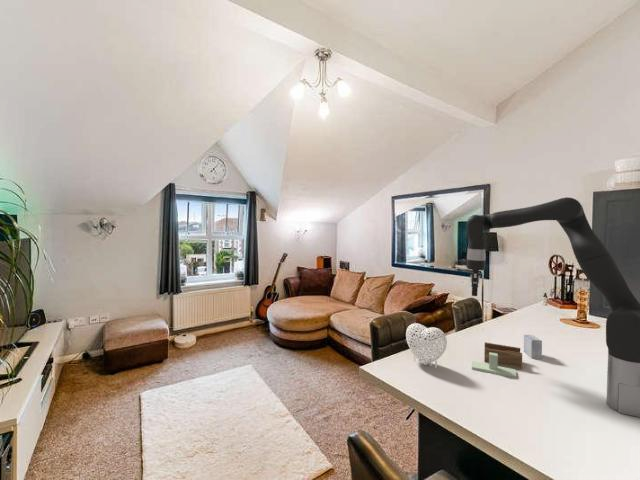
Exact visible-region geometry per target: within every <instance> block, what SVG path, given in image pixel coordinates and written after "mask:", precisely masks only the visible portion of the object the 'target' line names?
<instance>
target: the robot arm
mask: <svg viewBox="0 0 640 480" xmlns="http://www.w3.org/2000/svg"><path fill="white" fill-rule="evenodd" d="M539 221H540V222H542V221H556V222H557V223H558V224H559V225H560V227H561V228H562V230H563V231H564V232H565V234H566V236H567V238H568V239H569V243H570V245H571V249H572V251H573V255H574V257H575V259H576V262H577V263H578V266H579V267H580V269H581V271H582V273H583V274H584V276H585V277H586V278H587V280H588V281H589V282H590V283H591V284H592V285H593V286H594V287H595V288H596V289H597V290H598V291H599V292H600V294H602V296H603V297H604V298H605V300H606V301H607V303H608V306H609V307H610V310H611V312H610V313H609V314H608V316H607V317H606V322H605V344H606V347H607V371H606V373H607V375H606V400H605V401H606V404H607V406H609V408H611V409H613V410H615V411H617V412H618V413H619V414H624V415H628V416H632V417H638V418H640V302H639V300H638V299H637V298H636V297H635V295H634V293H633V292H632V291H631V289H630V288H629V286H628V283H627V281H626V280H625V278H624V276H623V274H622V272H621V270H620V269H619V267H618V264H617V263H616V262H615V259H614V258H613V256H612V254H611V253H610V251H609V249H607V247H606V246H605V244H604V243H603V242H602V240H601V239H600V238H599V236H597V234H596V233H595V232H594V231H593V229H592V227H591V225H590V223H589V221H588V219H587V216H586V214H585V211H584V207H583V205H582V204H581V202H579V200H577V199H575V198H573V197H561V198H559V199H554V200H551V201H549V202H545V203H541V204H535V205H533V206H527V207H522V208H515V209H508V210H502V211H501V210H500V211H496V212H493V213H488V214H481V215H479V214H473V215H470V216H469V217H468V219H467V220H466V233H467V238H468V240H467V241H468V242H467V251H466V253H467V254H466V269H467V270H471V271H472V272H470V275H469V276H470V283H471V286H470V287H471V296H473V297H477V296H478V289H479V284H480V278H481V273H480V271H484V270H486V258H487V256H486V255H487V254H486V243H487V242H486V237H484V231H487V230H492V229H503V228H510V227H516V226H521V225H525V224H529V223H534V222H539Z"/></svg>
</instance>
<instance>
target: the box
mask: <svg viewBox="0 0 640 480" xmlns="http://www.w3.org/2000/svg"><path fill="white" fill-rule="evenodd" d="M489 352H491V353H497V354H498V366H502V367H503V366H505V367H508V368H513V369H521V370H522V369H523V352H521V347H516V346H510V345H503V344H499V343H498V344H497V343H491V342H487V341H486V342H484V354H483V355H484V363H486V364H489Z"/></svg>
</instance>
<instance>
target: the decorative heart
mask: <svg viewBox="0 0 640 480" xmlns="http://www.w3.org/2000/svg"><path fill="white" fill-rule="evenodd" d="M405 338H406V342H407V345H408V347H409V349H410V351H411V353H412V354H413V362H416V359H417V360H418V361H417V362H418V363H421V364H423V365H424V366H426V365H427V366H428V365H429V364H430V365H429V366H430V367H432V365H433V364H432V363H433V362H435V363H434V364H435V368H436V369H437V367H438V361H437V360H438V359H440V358H441V357H442V356H443V355H444V353H445V351H446V349H447V345H448V344H447V343H448V340H447V337H446V334H445V332H443V330H441V329H440V328H437V327H434V326H433V327H432V326H431V327H427V326H425V325H424V324H421V323H418V322H417V323H416V322H414V323H411V324H410V325H409V326H407V328H406V332H405Z"/></svg>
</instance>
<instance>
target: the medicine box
mask: <svg viewBox="0 0 640 480" xmlns="http://www.w3.org/2000/svg"><path fill="white" fill-rule="evenodd" d="M523 352H524V354H526V355H528V356H529V357H530V358H531V359H538V360H541V359H543V341H542V339H540V338H539V337H537V336H536V335H534V334H524V335H523Z"/></svg>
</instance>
